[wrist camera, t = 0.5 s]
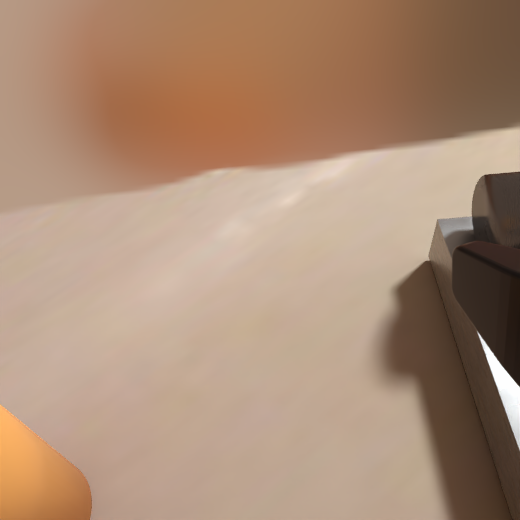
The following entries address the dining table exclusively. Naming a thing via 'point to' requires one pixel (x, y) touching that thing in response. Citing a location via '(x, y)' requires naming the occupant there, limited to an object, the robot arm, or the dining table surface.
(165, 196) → the dining table surface
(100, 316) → the dining table surface
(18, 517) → the lidded container
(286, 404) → the dining table surface
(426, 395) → the dining table surface
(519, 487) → the octagonal ring base plate
